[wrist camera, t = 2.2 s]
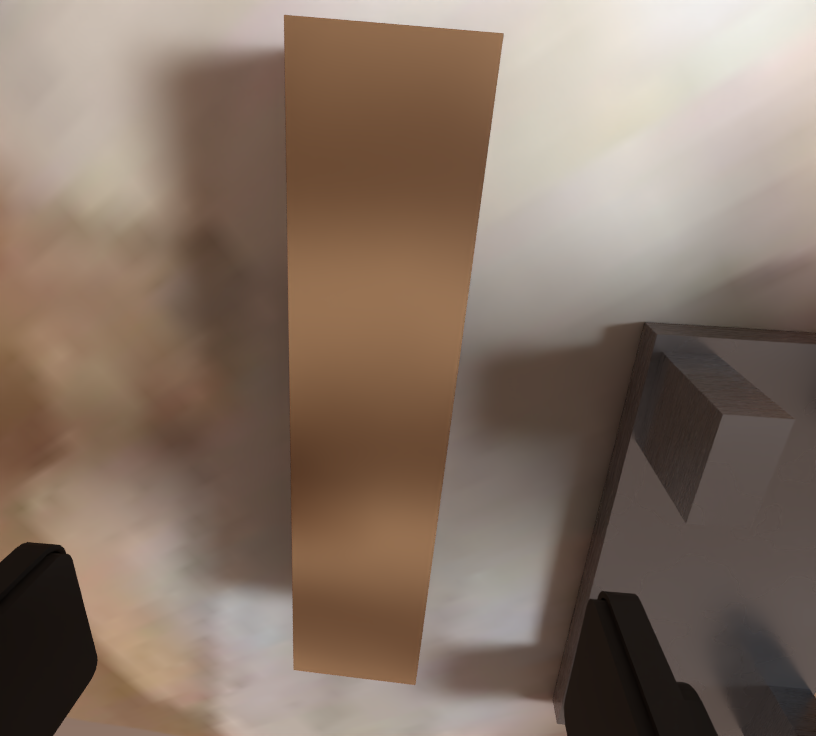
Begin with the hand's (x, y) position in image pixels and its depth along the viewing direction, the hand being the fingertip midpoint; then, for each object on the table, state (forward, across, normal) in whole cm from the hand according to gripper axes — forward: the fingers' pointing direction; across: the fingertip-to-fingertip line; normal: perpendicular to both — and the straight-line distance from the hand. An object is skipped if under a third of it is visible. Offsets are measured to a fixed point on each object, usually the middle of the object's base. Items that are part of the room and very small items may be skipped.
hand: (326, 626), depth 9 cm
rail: (+8, 0, -1) cm, 9 cm away
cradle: (+8, -12, +5) cm, 15 cm away
